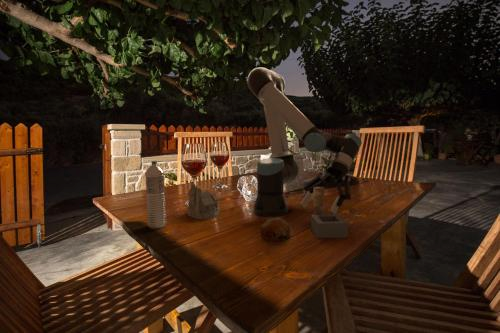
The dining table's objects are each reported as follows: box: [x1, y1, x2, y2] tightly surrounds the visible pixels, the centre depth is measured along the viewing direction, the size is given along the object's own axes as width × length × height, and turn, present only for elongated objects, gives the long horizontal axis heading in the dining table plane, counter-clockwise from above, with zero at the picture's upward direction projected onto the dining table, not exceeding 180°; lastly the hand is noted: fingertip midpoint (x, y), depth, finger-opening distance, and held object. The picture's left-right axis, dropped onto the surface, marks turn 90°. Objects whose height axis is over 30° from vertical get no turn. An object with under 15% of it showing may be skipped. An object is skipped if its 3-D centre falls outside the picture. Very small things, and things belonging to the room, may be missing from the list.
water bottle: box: [144, 160, 167, 230], centre depth 107 cm, size 7×7×25 cm
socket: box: [310, 213, 349, 239], centre depth 99 cm, size 10×10×5 cm
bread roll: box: [260, 217, 291, 242], centre depth 97 cm, size 10×10×8 cm
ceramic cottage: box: [186, 180, 221, 221], centre depth 124 cm, size 16×16×15 cm
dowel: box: [312, 186, 325, 215], centre depth 108 cm, size 4×4×14 cm
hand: (316, 209), depth 107 cm, fingers open, 13 cm apart
